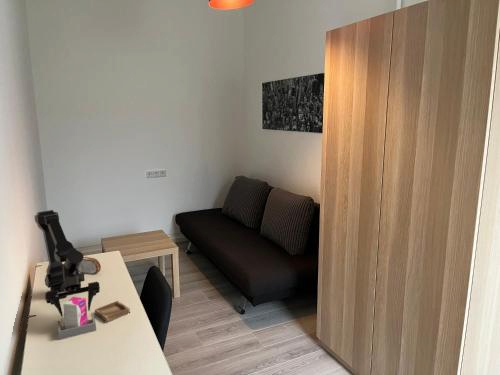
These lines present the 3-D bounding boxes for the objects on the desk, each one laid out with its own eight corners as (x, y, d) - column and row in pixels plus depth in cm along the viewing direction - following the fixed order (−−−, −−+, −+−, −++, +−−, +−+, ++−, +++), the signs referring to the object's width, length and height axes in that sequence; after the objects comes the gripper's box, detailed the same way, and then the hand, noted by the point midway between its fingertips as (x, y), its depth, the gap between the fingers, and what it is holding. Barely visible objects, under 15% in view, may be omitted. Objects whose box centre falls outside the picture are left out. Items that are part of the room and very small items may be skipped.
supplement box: (79, 333, 139) (76, 305, 136) (65, 331, 140) (62, 303, 138) (88, 325, 144) (86, 297, 142) (75, 323, 145) (72, 296, 143)
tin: (101, 273, 193) (100, 258, 191) (97, 276, 190) (96, 260, 188) (78, 270, 197) (77, 255, 196) (74, 272, 195) (72, 257, 193)
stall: (58, 328, 142) (57, 320, 142) (94, 319, 148) (93, 312, 147) (59, 339, 135) (58, 332, 134) (96, 330, 140) (95, 323, 140)
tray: (95, 314, 152) (94, 309, 152) (117, 305, 159) (117, 300, 159) (106, 322, 145) (106, 318, 145) (130, 312, 153) (129, 308, 152)
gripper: (42, 271, 137) (45, 312, 129) (96, 262, 145) (102, 300, 138) (45, 283, 145) (48, 322, 138) (96, 273, 154) (102, 310, 146)
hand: (75, 313), depth 140 cm, fingers open, 9 cm apart
